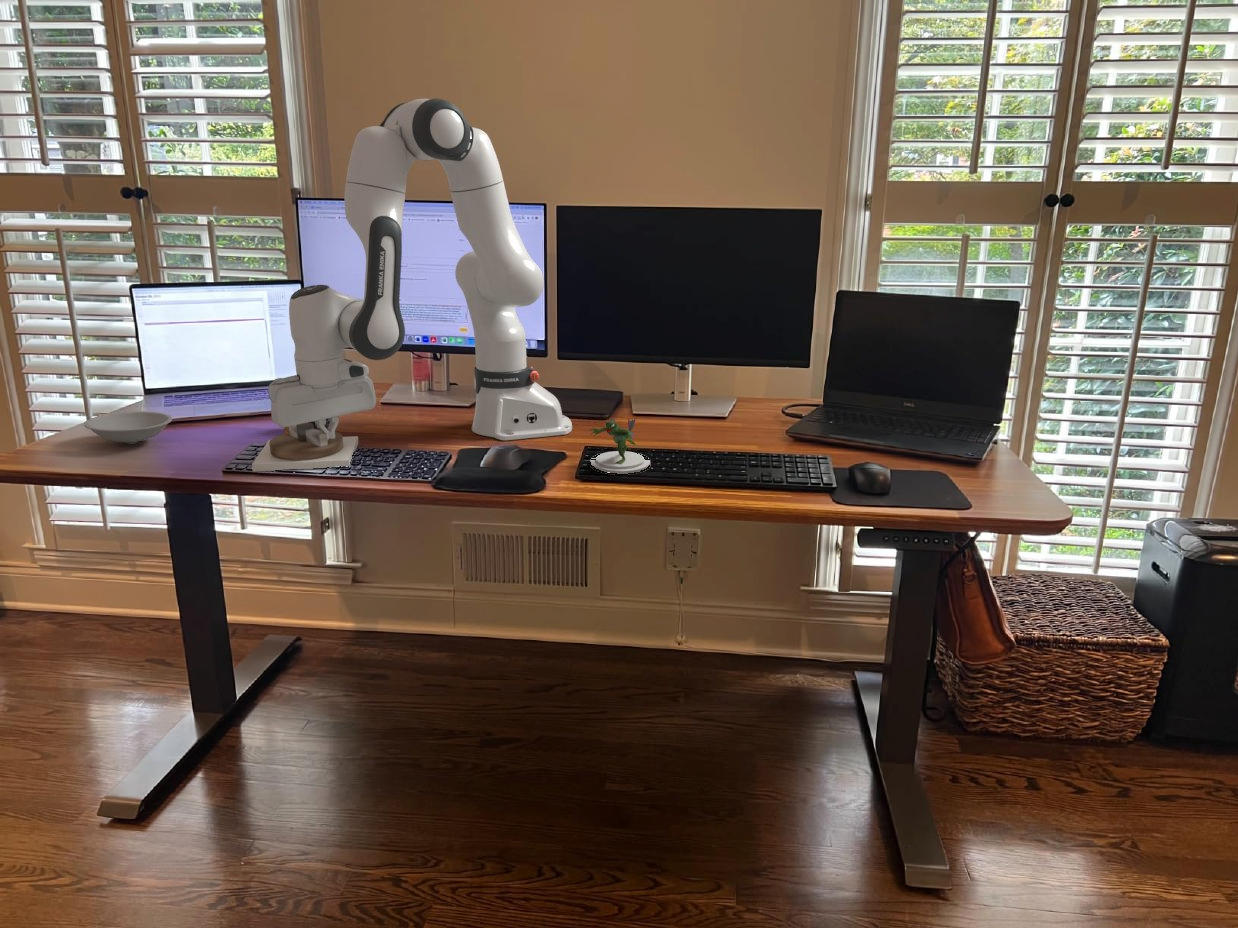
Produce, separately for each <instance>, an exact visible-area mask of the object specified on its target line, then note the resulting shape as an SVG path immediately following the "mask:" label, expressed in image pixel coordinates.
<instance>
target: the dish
mask: <svg viewBox="0 0 1238 928" xmlns="http://www.w3.org/2000/svg"><path fill="white" fill-rule="evenodd" d="M172 421H173V416H171V415H169V414H167V413H164V412H158V411H150V410H149V411H147V410H146V411H144V410H143V411H142V410H138V411H136V410H135V411H121V412H112V413H107V414H102V415H98V416H94V417H91V418H90V419H87V420H85V421H84V422H83V426H84V427H85V428H86V429H88V430H90V431H92V432H93V433H95V434H96V435H97V436H99V437H100V438H102V439H105V440H108V441H111V442H112V441H113V442H117V443H127V444H128V445H135V444H137V443H138V442H142V441H147V440H149V439H152V438H155V437H156V436H158V434H160V433H161V432H162V431H163V430H164V429H165V428H166V427H167V425H168V424H170V423H171V422H172Z"/></svg>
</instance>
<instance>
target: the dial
mask: <svg viewBox="0 0 1238 928" xmlns="http://www.w3.org/2000/svg"><path fill="white" fill-rule="evenodd" d="M283 428H284V433H282V434H278V435H276V436H273V437H272V438H271V439H269V440H270V442H269V445H270V452H271V455H273V456H274V457H277V458H281V459H288V460H305V459H314V458H320V457H325V456H329V455H332V454H334V453H337V452H339V451H340V450H341V449H342V448H343V437H344V436H343V434H342V433H340V432H338V431H336V430H335V439H330V440H327V433H324V432H322V431H321V429H314V428H313V424H312V423H308V422H307V423H303V424H298V425H293V426H288V427H283Z"/></svg>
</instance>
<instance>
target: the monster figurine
mask: <svg viewBox="0 0 1238 928" xmlns="http://www.w3.org/2000/svg"><path fill="white" fill-rule="evenodd" d="M627 419H628V420H627V425H628V429H626V428H625V429H624V428H622V427H621V425H619V424H618V422H616V419H614V418H610V419H609V421H606V420H605V421H604V422H605V426H603V427H602V428H596V427H594V426H592V428H591V429H589V430H588V432H591V431H592V432H591V433H590V436H591V435H592V434H594V435H593V436H592V437H593V438H594V437H595V436H597V435H598V434H601V433H602V432H606V433H607V434H608V435H609V436H612V439H613V442H614V443H615V444H617V450H614V451H607V452H606V451H605V452H603V453H599V454H600V455H598V454H597V455H598V456H597V457H596V458H592V457H591V458H590V460H589V461H590V462H591V465H592V466H594V467H595V468H596V469H599V470H601V471H604V472H610V473H617V474H628V473H634V472H640V471H641V470H644V469H646V468H647V467H648V466H649V465H650V466H651V459H650V458H649V457H648V459H650V460H645V459H644V457H643V456H642V455H643V454H641V453H638V454H637V452H634V451H633V452H632V451H627V449H628V445H627V443H626V442H629V443H630V445H633V446H634V447H636V446H637V445H636V443H635V441H634V440H632V439H633V438H634V436H635V435H636V433H635V431H632V430H633V429H634V426H635V423H636V418H634V419H631V420H630V418H627ZM640 454H641V455H640ZM591 459H596V460H591ZM590 462H589V463H590ZM640 473H641V472H640ZM628 475H629V474H628Z"/></svg>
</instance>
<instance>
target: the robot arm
mask: <svg viewBox="0 0 1238 928" xmlns="http://www.w3.org/2000/svg"><path fill="white" fill-rule="evenodd" d="M351 148H352V149H351V152H350V156H349V161H348V165H347V171H346V172H347V173H346V178H345V186H344V198H343V199H344V200H343V201H344V213H345V218H346V221H347V223H348V225H349V226H350V227H351V228H352V230H353V231H354V232H355V233H356V235H357V237H358V238H359V240H360V242H361V244H362V246H363V250H364V253H365V275H364V292H363V293H364V294H363V296H364V297H363V299H362V298H357V297H353V296H350V295H349V294H345V293H342V292H340V291H337V290H336V289H334V288H332V287H331V286H329V285H327V284H316V285H315V284H314V285H308V286H304V287H301V288H299V289H298V290H295V291H294V292H293V293H292V294H291V296H290V298H289V305H288V315H289V316H288V317H289V318H288V319H289V329H290V336H291V338H292V341H293V343H294V356H293V359H294V364H295V365H294V367H295V372H296V374H294V375H291V376H287V377H277V378H274V380H273V381H272V382H271V383H269V385H268V388H267V391H268V398H269V400H270V408H271V409H270V411H271V415H270V416H271V420H272V422H273V423H274V424H275V425H276V426H279V428H280V427H281V428H284V427H288V426H293V425H298V424H303V423H308V422H312V421H315V423H316V425H317V426H318V427H319V428H320V429H321V431H322V432H324V433H327V440H330V439H335V431H336V429H337V427H338V425H339V423H340V420H339V419H340V418H339V417H341V416H345V415H351V414H356V413H360V412H365V411H370V410H373V409H374V408H375V407H376V404H377V396H376V392H375V387H374V382H373V381H372V379H371V378H370V377H369V376H368V375H369V373H370V372H369V366H367V365H366V364H364V363H362V362H359V361H356V360H352V359H347V358H344V357H343V350H344V349H348V348H351V349H353V350H356V351H357V352H358V353H359V354H360V355H361V356H363V357H365V358H367V359H368V360H373V361H382V360H386V359H389V358H391V357H393V356H394V355H395V354H396V353H397V352H398V351H399V350H400V349H401V347H402V346H403V343H404V341H405V335H406V328H405V327H406V326H405V323H404V320H403V316H402V313H401V305H400V294H401V272H402V254H403V253H402V251H403V250H402V249H403V244H402V243H403V242H402V241H403V240H402V239H403V238H402V237H403V235H402V234H403V221H404V220H403V218H404V209H405V200H406V193H407V191H406V190H407V182H408V181H407V179H408V176H409V172H410V171H411V170H410V169H411V167H412V166H413V165H414V163H415V162H416V161H422V162H423V161H424V162H431V161H434V160H437V161H438V162H439V163H440V165H441V166H442V168H443V170H444V172H445V174H446V177H447V183H448V188H449V192H450V195H451V200H452V204H453V208H454V212H455V216H456V220H457V223H458V228H459V229H460V232H461V233H462V234H463V236H464V237H465V239H466V240H467V241H468V243H469V244H470V246H471V248H472V251H469V252H467V253H464V255H462V256H461V257H460V258H459V260H458V261H457V263H456V266H455V271H454V273H455V274H454V275H455V279H456V283H457V285H458V286H459V288H460V289H461V291H462V293H463V295H464V298H465V302H466V305H467V309H468V312H469V316H470V319H471V320H470V321H471V324H472V327H473V328H472V330H473V335H474V347H475V349H474V350H475V351H474V353H475V367H474V373H473V381H474V383H473V384H474V391H475V393H476V398H475V399H476V400H475V409H474V417H473V422H472V425H471V430H472V432H473V433H475V434H477V435H481V436H485V437H490V438H495V439H497V440H500V441H515V440H523V439H534V438H543V437H544V438H545V437H553V436H562V435H563V436H564V435H568V434H570V433H571V432H572V430H573V425H572V424H573V423H572V421H571V419H570V418H569V417H568V416H566V415H564V414H563V412H562V407H561V403H560V401H559V399H558V398H557V397H556V396H555V395H554V394H553V393H551V392H550V391H548V390H547V389H546V388H544V387H543V386H541V385H540V384H539V383H537V381H539V379H540V374H539V372H538V371H536V369H535V368H533V366H529V365H527V363H528V362H527V339H526V338H527V335H526V333H527V332H526V330H525V328H524V325H523V324H522V323H521V321H520V319H519V317H518V314H517V309H516V308H522V307H528V306H530V305H532V304H534V303H536V302H537V301H538V299H539V298H540V296H541V295H542V292H543V289H544V285H545V281H544V274H543V272H542V269H541V268H540V267H539V265H538V264H537V263H536V262H535V261H534V260H533V258H532V257H531V256H530V254H529V252H528V250H527V249H526V248H527V247H526V246H525V244H524V241H523V240H522V238H521V236H520V234H519V231H518V229H517V226H516V224H515V222H514V218H513V214H512V213H511V207H510V203H509V200H508V195H507V190H506V187H505V182H504V178H503V173H502V170H501V166H500V162H499V159H498V156H497V153H496V151H495V149H494V146H493V143H492V140H491V139H490V136H489V135H488V133H486V132H485V131H483V130H482V129H480V128H477V127H473V126H472V125H471V124H470V123H469V122H468V120H467V118H466V116H465V114H464V113H463V112H462V110H460V108H459V107H458V106H457V105H455V104H454V103H452V102H450V101H448V100H445V99H442V98H418V99H417V98H416V99H414V100H411V101H409V102H401V103H399V104H397V105H396V106H394V107H393V108H391V109H390V110H389V112H388V113H387V114H386V116H384V119H383V121H382V122H381V123H380V124H379V125H375V126H373V125H372V126H367V127H364V128H363V129H361V130H359V132H358V133H357V134H356V136H355V138H354V142H353V145H352V147H351ZM327 418H328V420H329V421H330V424H329V427H328V429H326V427H325V426H324V425H323V424H326V419H327Z"/></svg>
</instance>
